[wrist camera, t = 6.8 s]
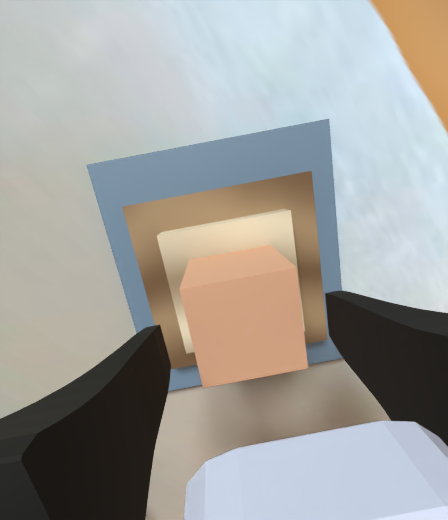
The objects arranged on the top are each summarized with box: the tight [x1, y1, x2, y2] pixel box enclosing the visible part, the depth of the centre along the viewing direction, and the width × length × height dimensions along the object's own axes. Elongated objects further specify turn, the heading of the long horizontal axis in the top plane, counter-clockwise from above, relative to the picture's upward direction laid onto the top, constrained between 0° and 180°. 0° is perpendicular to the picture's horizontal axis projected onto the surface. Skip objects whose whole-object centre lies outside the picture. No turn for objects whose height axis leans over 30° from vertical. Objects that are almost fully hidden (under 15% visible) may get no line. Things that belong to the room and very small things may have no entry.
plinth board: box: [87, 119, 343, 391], centre depth 18 cm, size 18×16×4 cm
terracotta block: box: [179, 245, 308, 388], centre depth 14 cm, size 5×5×5 cm
